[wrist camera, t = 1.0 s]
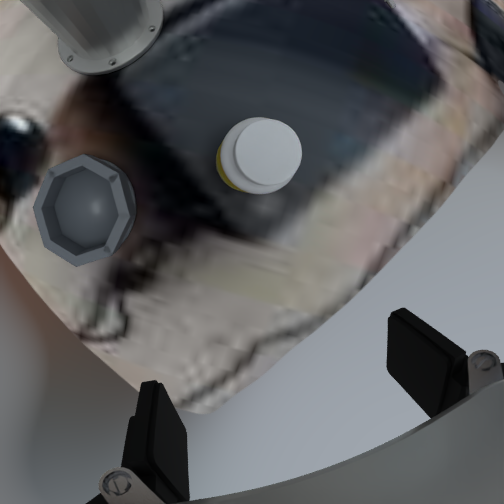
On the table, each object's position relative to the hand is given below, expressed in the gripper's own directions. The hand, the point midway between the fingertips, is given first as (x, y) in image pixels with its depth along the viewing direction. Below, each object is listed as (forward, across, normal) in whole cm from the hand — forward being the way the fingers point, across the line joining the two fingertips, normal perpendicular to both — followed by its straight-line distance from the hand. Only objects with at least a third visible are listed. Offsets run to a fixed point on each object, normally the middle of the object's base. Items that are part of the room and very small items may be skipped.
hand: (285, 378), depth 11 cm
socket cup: (+22, +13, -8) cm, 27 cm away
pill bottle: (+22, -4, -8) cm, 24 cm away
